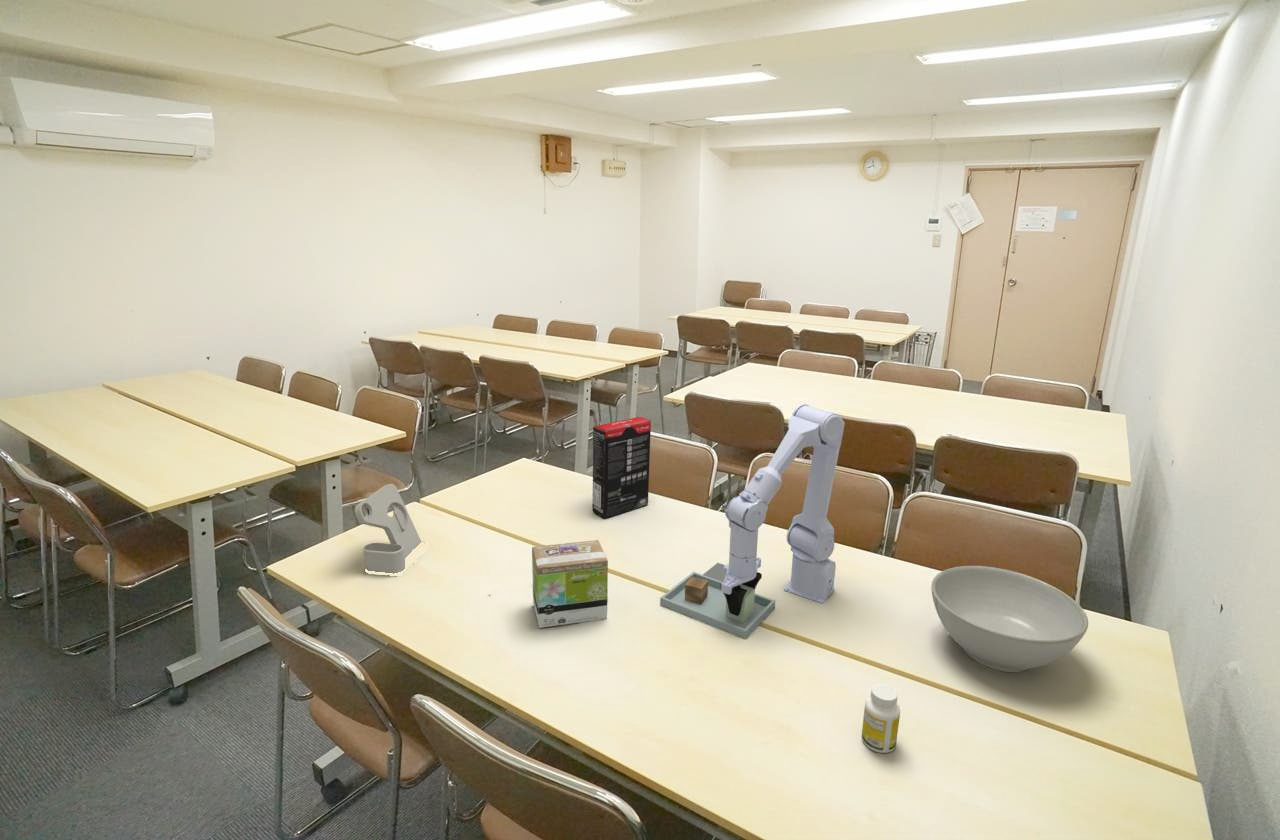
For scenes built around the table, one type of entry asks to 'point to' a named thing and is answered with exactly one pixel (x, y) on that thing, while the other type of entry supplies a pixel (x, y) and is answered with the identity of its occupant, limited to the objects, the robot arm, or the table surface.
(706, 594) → the walnut block
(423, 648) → the table surface
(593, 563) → the tea box
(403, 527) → the phone holder
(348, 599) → the table surface
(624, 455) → the graphics card box
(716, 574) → the mat
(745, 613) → the pale green box
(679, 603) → the tray
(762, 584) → the table surface
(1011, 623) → the decorative bowl
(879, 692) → the supplement bottle
